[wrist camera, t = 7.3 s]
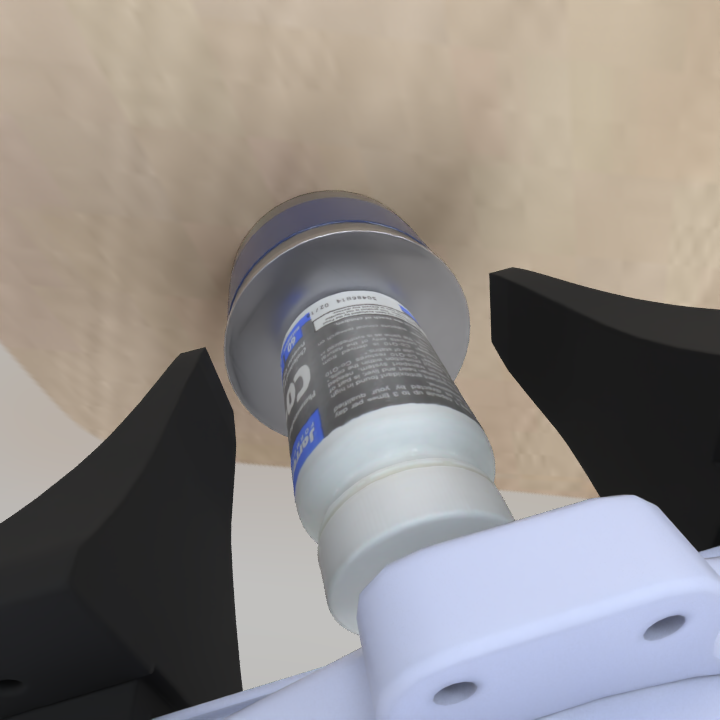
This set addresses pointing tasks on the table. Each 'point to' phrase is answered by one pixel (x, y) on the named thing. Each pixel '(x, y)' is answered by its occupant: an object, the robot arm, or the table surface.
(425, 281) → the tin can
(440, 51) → the table surface
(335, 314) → the pill bottle
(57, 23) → the table surface
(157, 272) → the table surface
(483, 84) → the table surface
